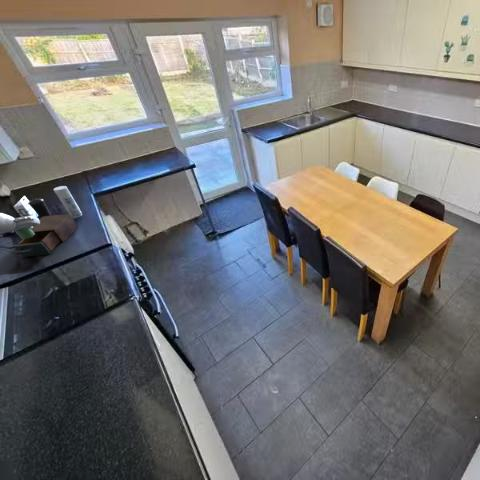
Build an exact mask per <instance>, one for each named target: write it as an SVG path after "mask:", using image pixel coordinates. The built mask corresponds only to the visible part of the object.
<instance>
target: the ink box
mask: <svg viewBox="0 0 480 480" xmlns="http://www.w3.org/2000/svg"><path fill="white" fill-rule="evenodd" d="M29 202H30V200H29V199H28V198H27V197H26V195H23V196H22V198H20V200H18V201H17V203H15V204H14V205H13V208H14V209H15V211H16V212H17V213H18V214H19V216H20V217H24V216H31V217H36V218H38V217H39V215H38V214H37V213H36V212H35V211H34V209H33V208H32V207H31V206H30V205H29V204H28V203H29Z"/></svg>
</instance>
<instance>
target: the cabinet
mask: <svg viewBox="0 0 480 480" xmlns="http://www.w3.org/2000/svg"><path fill="white" fill-rule="evenodd" d="M39 221H40V225H37V226H33V228H30V229H31V230H32V231H33V232H34V233H38V232H47V231H53V232H54V233H55V234H56V235H57V237H58V238H59V239H60V240H61V241H60V242H59V243H58V244H60V243H65V242H66V241H67V240H68V239H69V238H70V237H71V236H72V234H73V233H74V232H75V231H76V230H77V229H78V227H79V225H78V224H77V222H76V220H74V218H72V217H71V215H70V214H69V213H64V214H53V215H52V216H43V217H42V218H41V217H40V219H39Z"/></svg>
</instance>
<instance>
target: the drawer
mask: <svg viewBox="0 0 480 480" xmlns="http://www.w3.org/2000/svg"><path fill="white" fill-rule="evenodd" d="M60 241H61V240H60V239H59V238H58V237H57V235H56V234H55V233H54V232H53V231H47V232H38V233H35V235H34V236H33V237H31V238H28V239H21V240H20V241H19V242H18V243H17V244H14V245H13V248H14V250H15V255H21V257H22V258H23V257H24V258H26V257H35V256H42V255H43V256H45V255H51V254H52V251H53V250H54V249H55V248H56V247H57V246H58V244H60V243H59V242H60Z"/></svg>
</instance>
